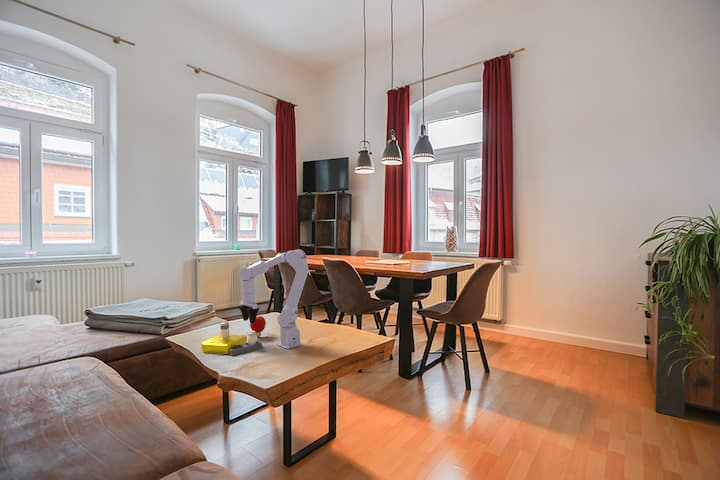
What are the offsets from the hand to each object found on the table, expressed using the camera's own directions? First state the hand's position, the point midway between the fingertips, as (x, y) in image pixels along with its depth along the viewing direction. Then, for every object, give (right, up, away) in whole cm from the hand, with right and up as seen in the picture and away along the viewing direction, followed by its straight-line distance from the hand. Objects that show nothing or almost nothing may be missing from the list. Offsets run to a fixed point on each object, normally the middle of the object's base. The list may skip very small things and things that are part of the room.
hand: (249, 321), depth 168 cm
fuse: (+4, -10, -7) cm, 13 cm away
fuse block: (+1, -11, -10) cm, 14 cm away
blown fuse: (-9, -6, -5) cm, 12 cm away
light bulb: (+2, -10, +9) cm, 14 cm away
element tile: (-10, -11, -5) cm, 16 cm away
